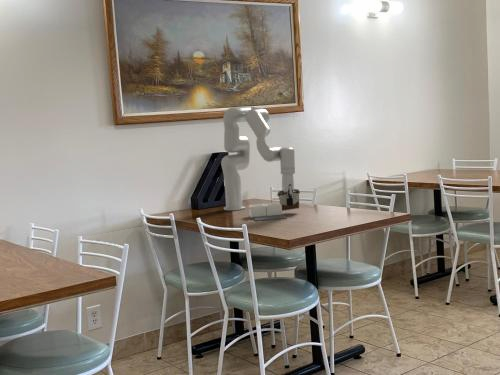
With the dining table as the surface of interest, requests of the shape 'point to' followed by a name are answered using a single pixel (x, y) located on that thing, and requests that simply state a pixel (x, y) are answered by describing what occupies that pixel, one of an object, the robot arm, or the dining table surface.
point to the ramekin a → (257, 210)
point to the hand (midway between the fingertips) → (288, 204)
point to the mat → (269, 217)
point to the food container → (283, 200)
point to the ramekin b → (273, 209)
